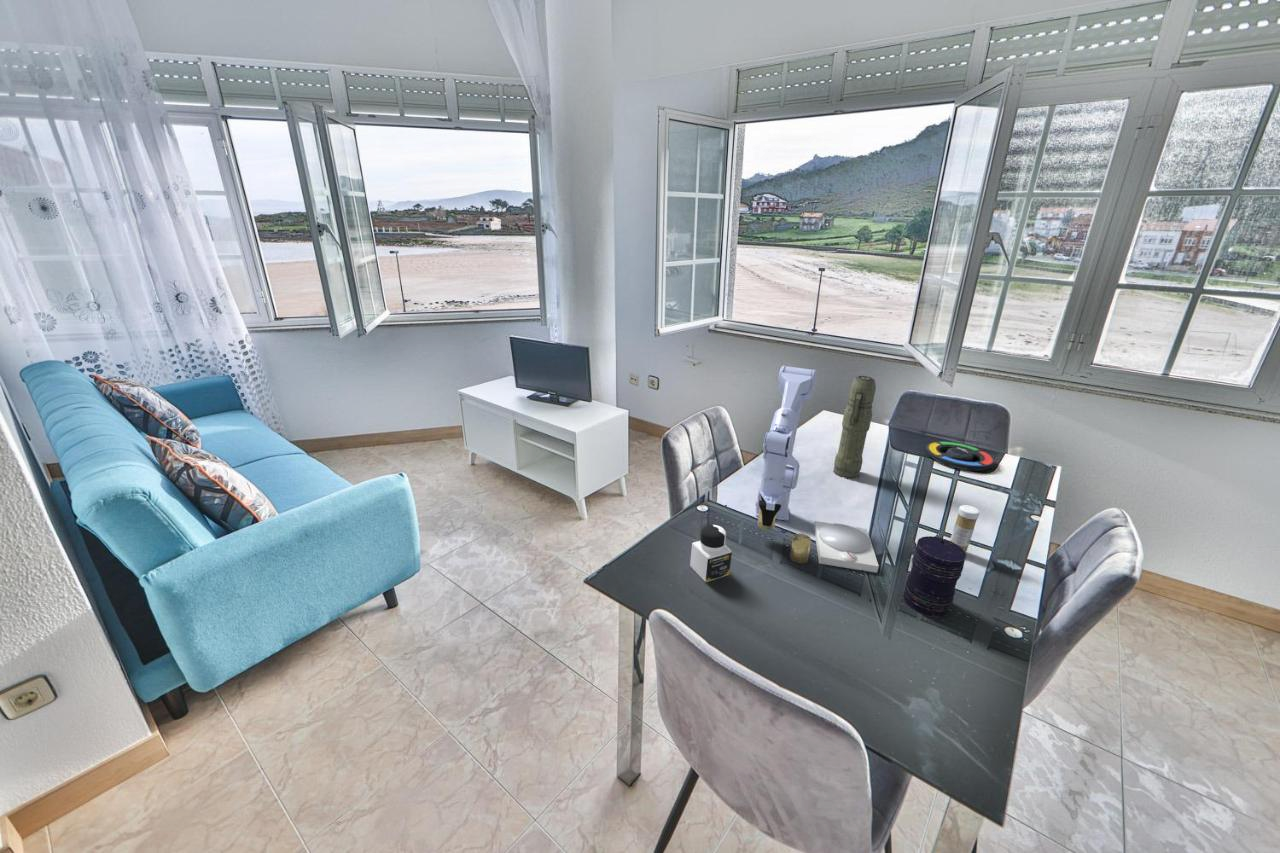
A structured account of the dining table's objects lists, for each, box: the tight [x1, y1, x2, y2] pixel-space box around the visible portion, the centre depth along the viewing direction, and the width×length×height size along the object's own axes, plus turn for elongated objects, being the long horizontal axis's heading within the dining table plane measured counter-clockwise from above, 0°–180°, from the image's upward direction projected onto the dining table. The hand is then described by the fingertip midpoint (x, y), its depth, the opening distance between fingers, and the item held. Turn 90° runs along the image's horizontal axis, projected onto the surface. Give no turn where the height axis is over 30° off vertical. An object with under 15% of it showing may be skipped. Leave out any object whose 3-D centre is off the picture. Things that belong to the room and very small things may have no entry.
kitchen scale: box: [813, 520, 880, 574], centre depth 140 cm, size 14×18×3 cm
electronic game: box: [925, 440, 996, 472], centre depth 199 cm, size 23×23×5 cm
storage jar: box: [902, 535, 967, 618], centre depth 119 cm, size 10×10×15 cm
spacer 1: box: [757, 509, 777, 531], centre depth 140 cm, size 4×4×6 cm
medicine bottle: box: [689, 524, 733, 583], centre depth 127 cm, size 7×7×12 cm
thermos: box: [832, 375, 877, 480], centre depth 179 cm, size 9×12×35 cm
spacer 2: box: [789, 533, 812, 564], centre depth 135 cm, size 4×4×6 cm
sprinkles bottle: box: [949, 504, 980, 554], centre depth 139 cm, size 5×5×13 cm
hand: (766, 520), depth 141 cm, fingers closed on spacer 1, 4 cm apart
